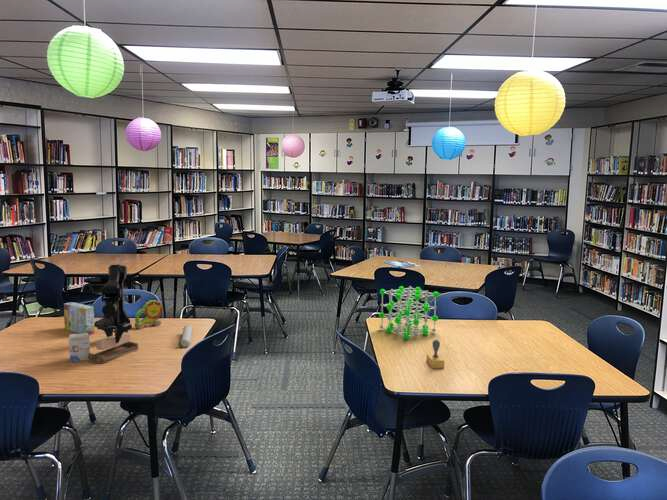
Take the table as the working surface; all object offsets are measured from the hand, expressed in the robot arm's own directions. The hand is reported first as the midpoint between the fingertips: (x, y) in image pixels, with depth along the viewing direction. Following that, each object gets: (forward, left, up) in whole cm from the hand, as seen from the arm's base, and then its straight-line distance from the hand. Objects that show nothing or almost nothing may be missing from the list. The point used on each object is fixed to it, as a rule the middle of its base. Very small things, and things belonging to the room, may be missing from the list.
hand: (113, 342), depth 249 cm
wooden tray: (0, 0, -6) cm, 6 cm away
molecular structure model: (+118, +101, -7) cm, 155 cm away
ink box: (-10, -11, -6) cm, 16 cm away
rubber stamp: (+144, +55, -7) cm, 154 cm away
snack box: (-48, +21, -7) cm, 53 cm away
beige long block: (0, 0, -1) cm, 1 cm away
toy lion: (-20, +45, -6) cm, 50 cm away
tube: (+16, +33, -7) cm, 38 cm away
